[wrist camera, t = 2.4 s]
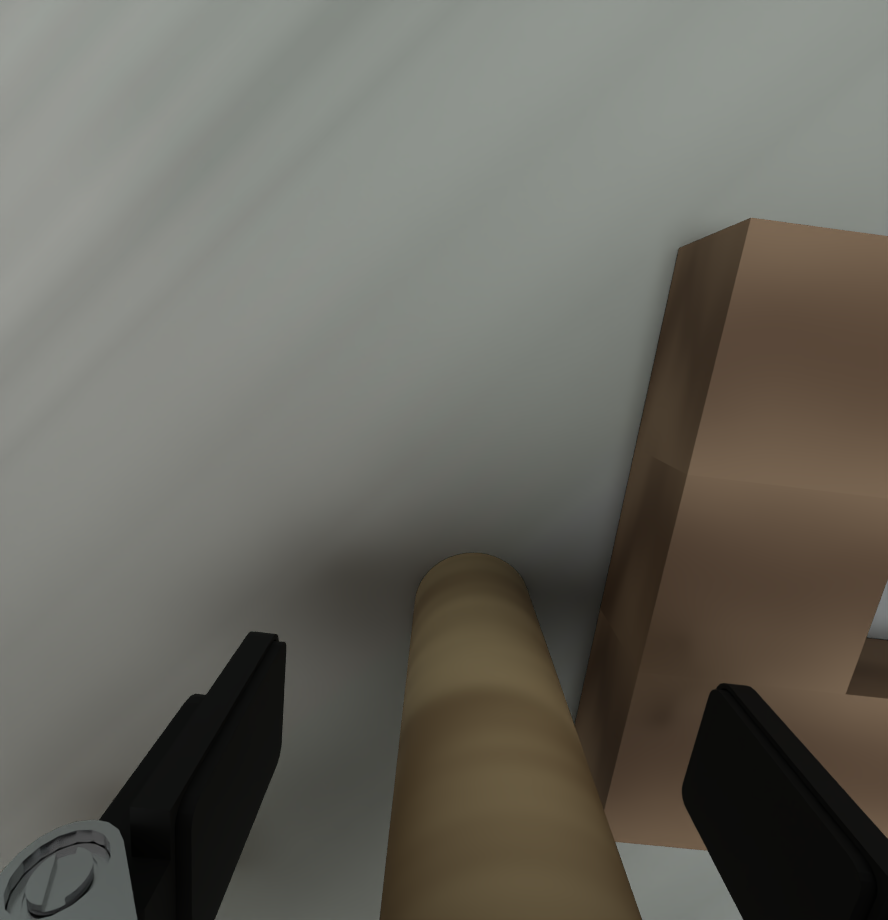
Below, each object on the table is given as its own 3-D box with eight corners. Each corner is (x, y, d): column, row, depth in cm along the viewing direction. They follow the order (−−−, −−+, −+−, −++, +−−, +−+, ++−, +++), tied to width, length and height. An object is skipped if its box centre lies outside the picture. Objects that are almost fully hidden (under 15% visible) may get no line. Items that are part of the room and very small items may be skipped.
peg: (519, 661, 15) (762, 1653, 4) (409, 650, 15) (298, 1634, 4) (538, 559, 15) (924, 1419, 3) (421, 546, 14) (329, 1386, 3)
